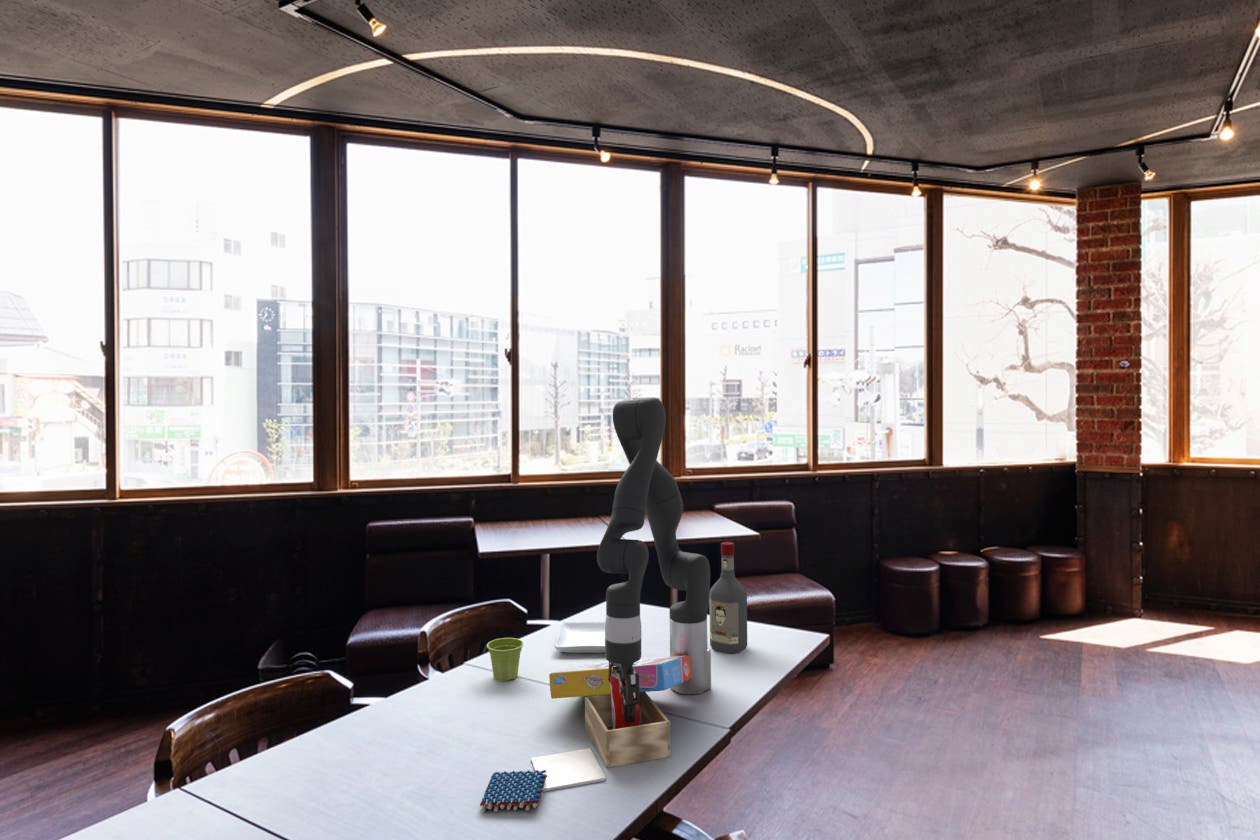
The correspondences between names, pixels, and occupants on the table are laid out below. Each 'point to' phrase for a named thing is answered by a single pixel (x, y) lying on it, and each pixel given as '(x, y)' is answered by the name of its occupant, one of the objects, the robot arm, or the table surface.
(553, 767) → the coaster
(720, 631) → the liquor
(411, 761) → the table surface
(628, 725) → the beverage can
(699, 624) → the robot arm
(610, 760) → the crate
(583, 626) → the salad plate
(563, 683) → the game box
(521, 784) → the woven mat
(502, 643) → the plant pot
